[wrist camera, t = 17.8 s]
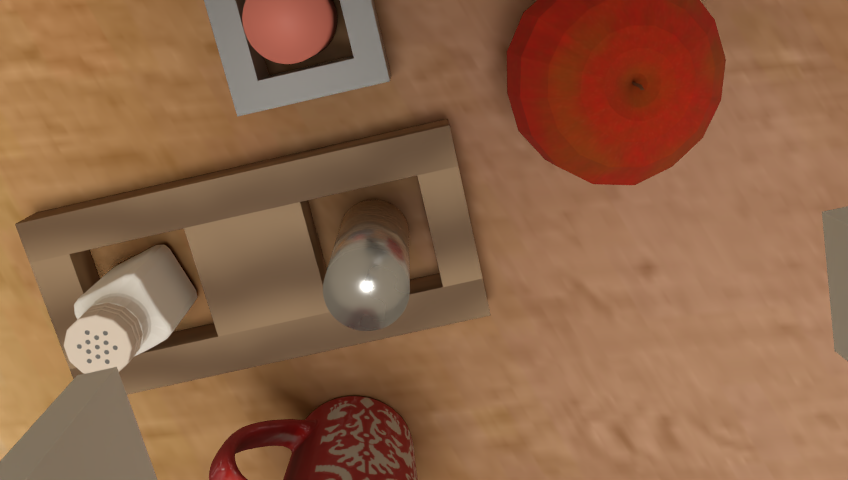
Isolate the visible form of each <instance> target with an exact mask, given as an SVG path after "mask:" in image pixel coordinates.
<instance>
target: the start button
mask: <svg viewBox="0 0 848 480" xmlns="http://www.w3.org/2000/svg"><path fill="white" fill-rule="evenodd" d="M242 21H243V28H244V31H245V34H246V37H247V39H248V41H249V42H250V44H251V45H252V47H253V48H254V49H255V50H256V51H257V52H258V53H259V54H260V55H262V56H263V57H265V58H266V59H268V60H271V61H273V62H276V63H281V64H294V63H298V62H302V61H304V60H306V59H308V58H310V57H312V56H314V55H316V54H318V53H319V52H321V51H322V50H324V49H325V48H326V47H327V46H328V45H329V43H330V42H331V40H332V39H333V37H334V34H335V31H336V27H337V13H336V9H335V5H334V3H333V1H332V0H246V1H245V4H244V7H243V14H242Z"/></svg>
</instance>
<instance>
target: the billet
mask: <svg viewBox="0 0 848 480" xmlns="http://www.w3.org/2000/svg"><path fill="white" fill-rule="evenodd" d="M409 295H410V270H409V228H408V223H407V221H406V218H405V217H404V215H403V214H402V212H401V211H400V210H399V209H398V208H397V207H395V206H394V205H393V204H391V203H389V202H386V201H383V200H376V199H373V200H365V201H362V202H360V203H358V204H356V205H354V206H353V207H352V208H350V209H349V211H348V212H347V213H346V214H345V216H344V218H343V220H342V222H341V225H340V229H339V232H338V235H337V239H336V242H335V245H334V249H333V252H332V255H331V258H330V262H329V265H328V268H327V272H326V275H325V278H324V283H323V296H324V301H325V304H326V306H327V308H328V310H329V311H330V313H331V314H332V315H333V317H334V318H335V319H336V320H338V321H339V322H340V323H342V324H343V325H345V326H347V327H349V328H352V329H355V330H359V331H374V330H379V329H382V328H385V327H387V326H389V325H390V324H392V323H393V322H395V321H396V320H397V319H398V318H399V317H400V316H401V315H402V313H403V312H404V310H405V308H406V306H407V304H408V300H409Z"/></svg>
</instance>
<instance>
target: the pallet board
mask: <svg viewBox="0 0 848 480" xmlns="http://www.w3.org/2000/svg"><path fill="white" fill-rule="evenodd" d="M413 176H418V180H419V185H420V189H421V193H422V198H423V202H424V206H425V211H426V215H427V219H428V224H429V228H430V232H431V237H432V241H433V245H434V250H435V254H436V258H437V262H438V267H439V271H440V274H435V275H431V276H426V277H422V278H417V279H413V280H410V295H409V300H408V304H407V306H406V308H405V310H404V312H403V313H402V315H401V316H400V317H399V318H398V319H397V320H396V321H395V322H393V323H392V324H390V325H389V326H387V327H385V328H382V329H379V330H374V331H359V330H355V329H352V328H349V327H347V326H345V325H343V324H342V323H340V322H339V321H338V320H336V319H335V318H334V317H333V315H332V314H331V313H330V311H329V310H328V308H327V306H326V304H325V301H324V296H323V283H324V278H325V275H326V272H327V270H326V266H325V262H324V259H323V255H322V251H321V247H320V244H319V240H318V236H317V233H316V229H315V225H314V222H313V218H312V214H311V211H310V207H309V203H308V200H311V199H316V198H320V197H324V196H329V195H333V194H338V193H342V192H347V191H351V190H355V189H360V188H364V187H369V186H373V185H378V184H382V183H386V182H391V181H395V180H400V179H404V178H409V177H413ZM15 225H16V228H17V231H18V233H19V236H20V239H21V241H22V244H23V247H24V249H25V252H26V255H27V257H28V260H29V262H30V265H31V268H32V270H33V273H34V276H35V278H36V281H37V284H38V286H39V289H40V292H41V294H42V297H43V300H44V302H45V305H46V307H47V310H48V313H49V315H50V318H51V321H52V323H53V326H54V329H55V331H56V334H57V337H58V339H59V342H60V345H61V347H62V350H63V352H64V355H65V358H66V360H67V363H68V366H69V368H70V371H71V374H72V376H73V379H74V378H75V377H76V376H77V375H81V374H85V373H82V372H81V371H80V370H79V369H78V368H76V367H75V366H74V365H73V364H72V363H71V362H70V361H69V359H68V356H67V354H66V351H65V348H64V341H65V336H66V332H67V329H68V328H69V327H70V326H71V325H72V324H73V323H74V322H75V321H77V318H76V316H75V312H74V304H75V302H76V301H77V300H78V298H79V297H81V296H82V295H83V294H84V293H85V292H86V291H87V290H89V289H90V288H91V287H92V286H93V285H94V284H95V283H96V282H98V281H99V280H100V278H99V276H98V273H97V270H96V267H95V264H94V262H93V259H92V256H91V253H90V249H94V248H99V247H103V246H107V245H112V244H116V243H121V242H125V241H130V240H134V239H138V238H143V237H147V236H152V235H156V234H161V233H165V232H169V231H174V230H178V229H183V228H184V230H185V234H186V237H187V240H188V243H189V246H190V249H191V252H192V255H193V259H194V262H195V265H196V268H197V271H198V274H199V277H200V281H201V284H202V287H203V290H204V293H205V296H206V299H207V303H208V306H209V309H210V312H211V315H212V318H213V321H214V323H213V324H209V325H204V326H200V327H195V328H190V329H186V330H181V331H177V332H172V333H171V335H170V336H169V337H168V339H166V340H164V341H163V342H161V343H159V344H157V345H156V346H154V347H152V348H150V349H148V350H146V351H145V352H143V353H141V354H139V355H136V356H134V357H133V358H132V359H131V361H130V362H129V363H128V364H127V365H126V366H125V367H124V368H123V369H122V370H121V371H119V375H120V377H121V380H122V383H123V386H124V388H125V391H126V394H132V393H137V392H141V391H146V390H150V389H155V388H160V387H164V386H169V385H173V384H178V383H182V382H187V381H192V380H196V379H201V378H205V377H210V376H215V375H219V374H224V373H228V372H233V371H238V370H242V369H247V368H251V367H256V366H260V365H265V364H270V363H274V362H279V361H283V360H288V359H293V358H297V357H302V356H306V355H311V354H316V353H320V352H325V351H329V350H334V349H338V348H343V347H348V346H352V345H357V344H361V343H366V342H371V341H375V340H380V339H384V338H389V337H394V336H398V335H403V334H407V333H412V332H417V331H421V330H426V329H430V328H435V327H439V326H444V325H449V324H453V323H458V322H462V321H467V320H472V319H476V318H481V317H485V316H490V310H489V305H488V301H487V296H486V292H485V287H484V282H483V278H482V273H481V269H480V264H479V259H478V255H477V250H476V245H475V241H474V236H473V232H472V227H471V222H470V218H469V213H468V208H467V204H466V199H465V195H464V190H463V185H462V181H461V176H460V171H459V167H458V162H457V158H456V153H455V148H454V144H453V139H452V135H451V130H450V125H449V123H448V120H447V119H445V120H441V121H437V122H432V123H428V124H423V125H419V126H415V127H410V128H406V129H401V130H397V131H393V132H388V133H384V134H380V135H375V136H371V137H366V138H362V139H358V140H353V141H349V142H345V143H340V144H336V145H331V146H327V147H323V148H318V149H314V150H309V151H305V152H301V153H296V154H292V155H288V156H283V157H279V158H274V159H270V160H266V161H261V162H257V163H253V164H248V165H244V166H239V167H235V168H231V169H226V170H222V171H217V172H213V173H209V174H204V175H200V176H196V177H191V178H187V179H182V180H178V181H174V182H169V183H165V184H161V185H156V186H152V187H147V188H143V189H139V190H134V191H130V192H125V193H121V194H117V195H112V196H108V197H104V198H99V199H95V200H90V201H86V202H82V203H77V204H73V205H69V206H64V207H60V208H55V209H51V210H47V211H42V212H38V213H35V214H33V215H31V216H29V217H27V218H26V219H24V220H22V221H20V222H18V223H16V224H15Z"/></svg>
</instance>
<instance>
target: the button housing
mask: <svg viewBox="0 0 848 480" xmlns="http://www.w3.org/2000/svg"><path fill="white" fill-rule="evenodd" d="M245 1H246V0H204V2H205V6H206V9H207V12H208V16H209V19H210V23H211V26H212V30H213V33H214V37H215V40H216V44H217V47H218V51H219V54H220V58H221V61H222V65H223V68H224V71H225V75H226V78H227V82H228V85H229V89H230V92H231V96H232V99H233V103H234V106H235V110H236V113H237V116H242V115H246V114H250V113H255V112H259V111H263V110H268V109H272V108H276V107H281V106H285V105H289V104H294V103H298V102H302V101H307V100H311V99H315V98H320V97H324V96H328V95H333V94H337V93H341V92H346V91H350V90H354V89H359V88H363V87H367V86H372V85H376V84H380V83H385V82H389V81H390V78H391V73H390V69H389V65H388V60H387V56H386V52H385V47H384V43H383V39H382V35H381V30H380V26H379V22H378V17H377V13H376V9H375V4H374V0H340V3H341V7H342V11H343V16H344V20H345V24H346V28H347V32H348V36H349V40H350V44H351V48H352V53H353V56H350V57H346V58H341V59H337V60H333V61H328V62H324V63H320V64H315V65H311V66H307V67H303V68H298V69H294V70H290V71H285V72H281V73H277V74H272V75H269V74H268V70H267V66H266V63H265V59H264V57H263V56H262V55H260V54H259V53H258V52H257V51H256V50H255V49H254V48H253V47H252V45H251V44H250V42H249V41H248V39H247V37H246V34H245V31H244V28H243V21H242V14H243V7H244V4H245Z"/></svg>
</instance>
